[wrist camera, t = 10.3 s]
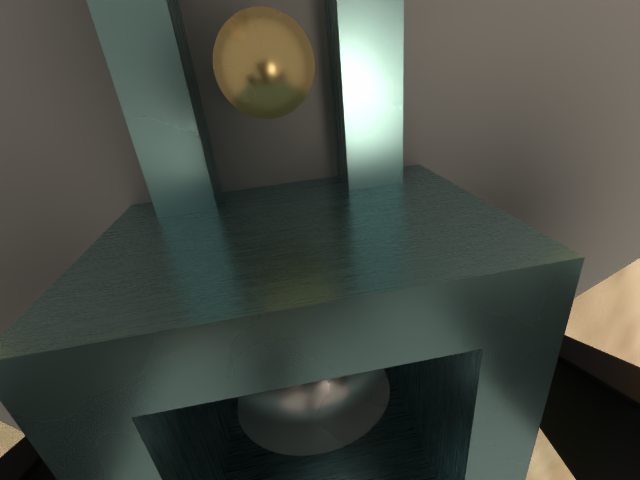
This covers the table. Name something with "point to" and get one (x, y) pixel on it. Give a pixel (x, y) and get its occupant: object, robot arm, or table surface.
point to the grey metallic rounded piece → (315, 413)
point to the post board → (318, 124)
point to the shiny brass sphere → (263, 62)
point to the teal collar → (288, 291)
